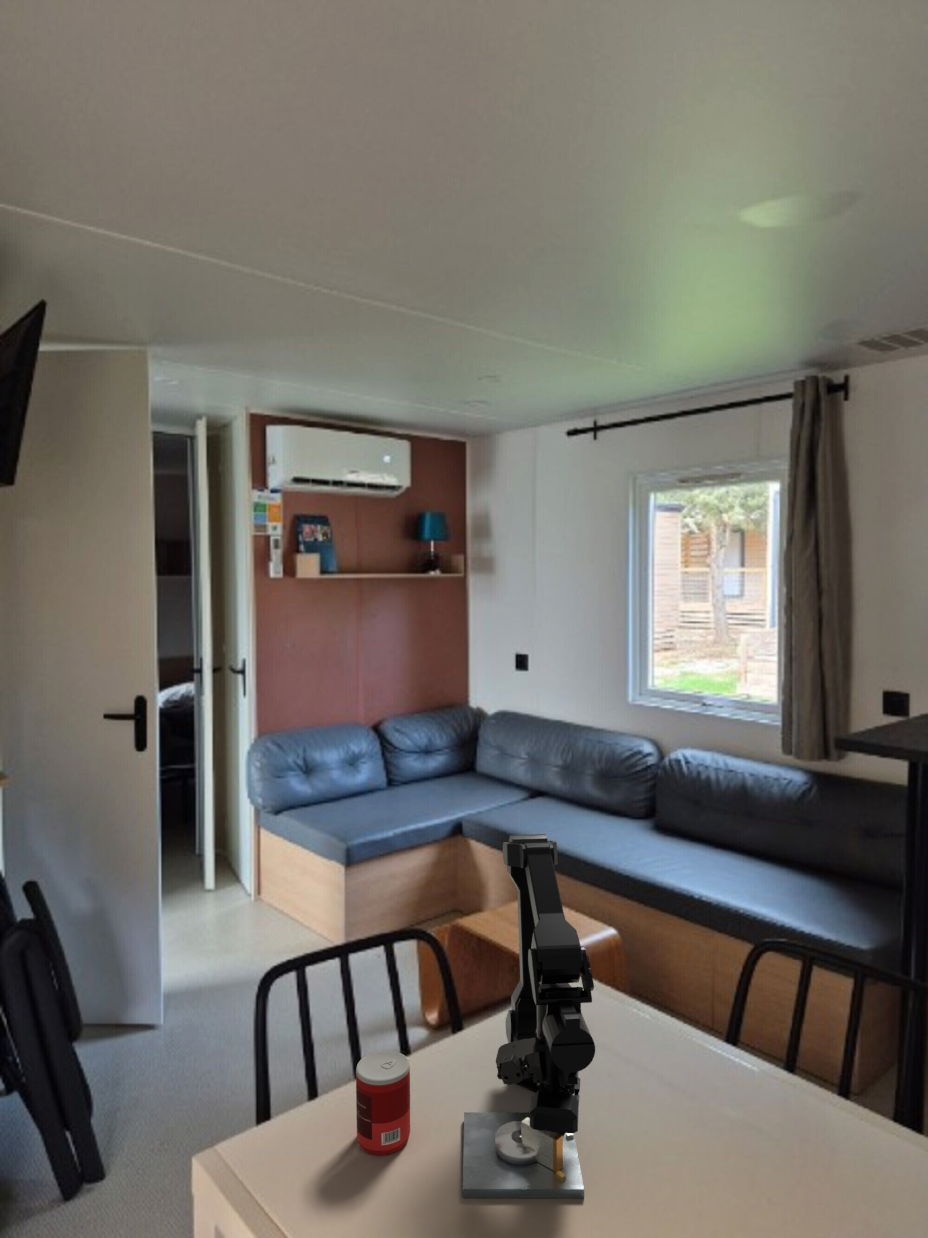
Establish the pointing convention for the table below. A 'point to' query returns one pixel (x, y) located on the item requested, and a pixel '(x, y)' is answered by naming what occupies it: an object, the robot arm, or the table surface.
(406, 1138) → the canned food
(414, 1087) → the table surface
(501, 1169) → the panel
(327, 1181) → the table surface
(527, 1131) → the dial
